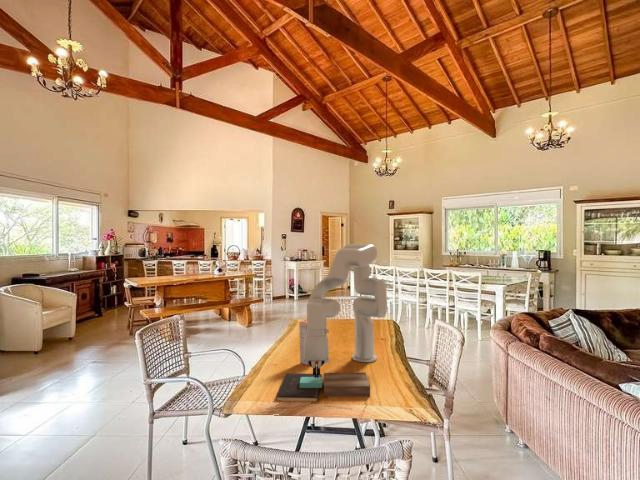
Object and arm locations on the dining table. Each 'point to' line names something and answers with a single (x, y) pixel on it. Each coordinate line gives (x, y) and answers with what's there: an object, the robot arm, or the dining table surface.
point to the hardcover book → (297, 389)
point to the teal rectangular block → (311, 382)
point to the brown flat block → (346, 384)
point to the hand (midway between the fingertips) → (316, 376)
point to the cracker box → (302, 338)
